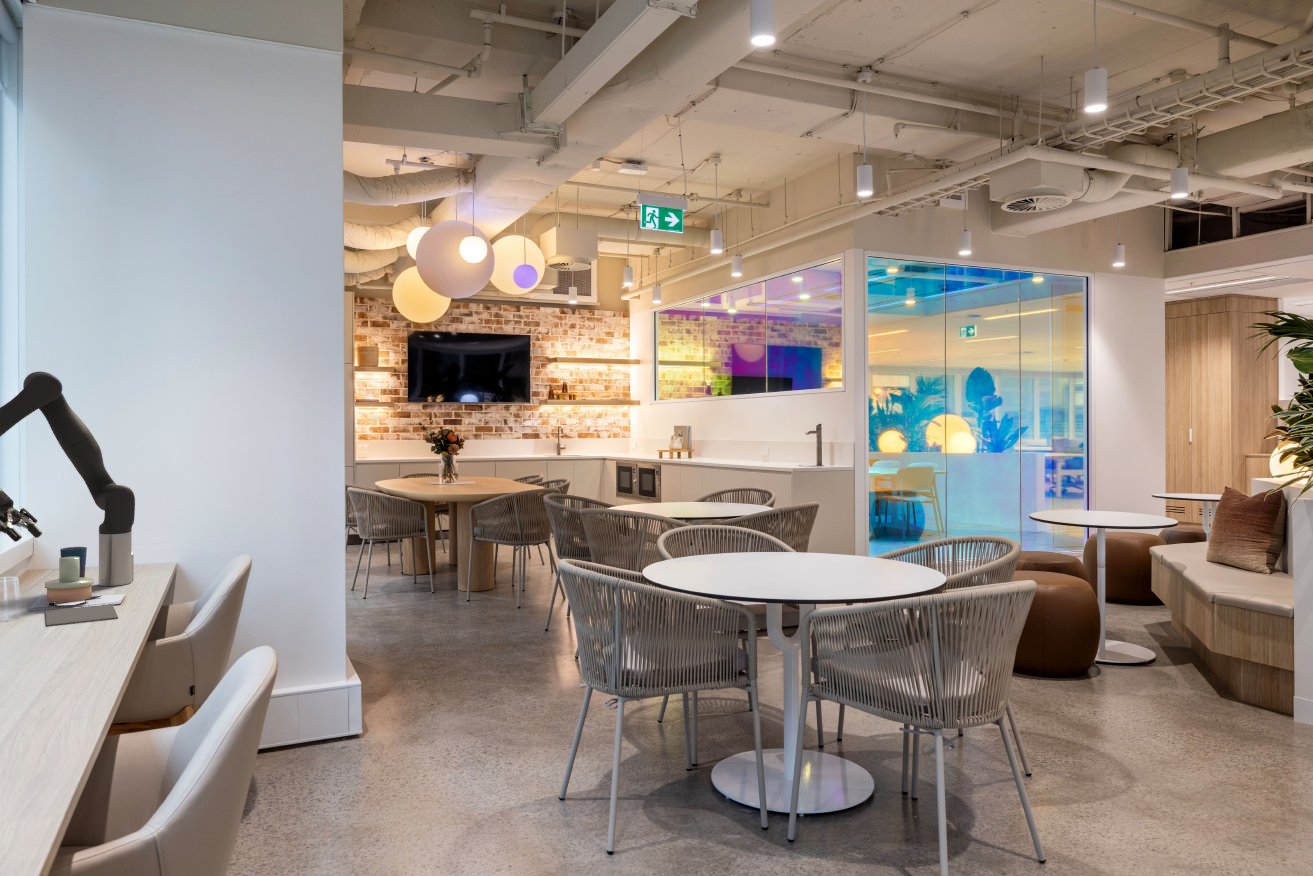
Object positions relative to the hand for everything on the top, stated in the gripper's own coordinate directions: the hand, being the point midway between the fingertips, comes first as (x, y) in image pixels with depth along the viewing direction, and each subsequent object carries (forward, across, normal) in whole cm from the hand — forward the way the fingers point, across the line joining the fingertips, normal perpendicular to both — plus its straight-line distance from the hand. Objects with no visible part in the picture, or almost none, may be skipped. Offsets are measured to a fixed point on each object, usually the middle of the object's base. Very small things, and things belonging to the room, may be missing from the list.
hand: (29, 537), depth 248 cm
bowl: (+22, 0, +6) cm, 23 cm away
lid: (+18, 0, +2) cm, 18 cm away
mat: (+31, -14, -3) cm, 34 cm away
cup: (+18, +10, +10) cm, 23 cm away
